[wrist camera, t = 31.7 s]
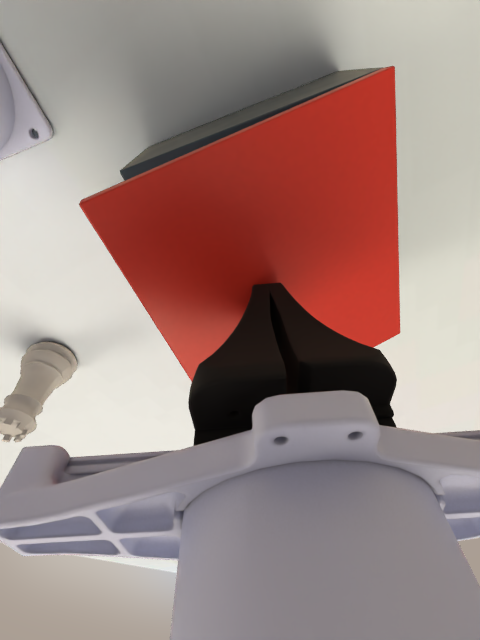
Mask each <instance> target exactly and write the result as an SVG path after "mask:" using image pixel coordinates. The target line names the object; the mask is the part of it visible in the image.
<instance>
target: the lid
mask: <svg viewBox="0 0 480 640" xmlns="http://www.w3.org/2000/svg"><path fill="white" fill-rule="evenodd" d="M79 205H80V207H81V209H82V210H83V212H84V213H85V215H86V217H87V218H88V220H89V221H90V223H91V224H92V226H93V228H94V229H95V231H96V232H97V234H98V235H99V237H100V238H101V240H102V242H103V243H104V245H105V246H106V248H107V249H108V251H109V253H110V254H111V256H112V257H113V259H114V260H115V262H116V264H117V265H118V267H119V268H120V270H121V271H122V273H123V275H124V276H125V278H126V279H127V281H128V282H129V284H130V285H131V287H132V289H133V290H134V292H135V293H136V295H137V296H138V298H139V300H140V301H141V303H142V304H143V306H144V307H145V309H146V311H147V312H148V314H149V315H150V317H151V318H152V320H153V321H154V323H155V325H156V326H157V328H158V329H159V331H160V332H161V334H162V336H163V337H164V339H165V340H166V342H167V343H168V345H169V347H170V348H171V350H172V351H173V353H174V354H175V356H176V358H177V359H178V361H179V362H180V364H181V365H182V367H183V368H184V370H185V372H186V373H187V375H188V376H189V378H190V379H191V381H193V378H194V375H195V372H196V370H197V367H198V365H199V364H200V363H201V362H203V361H204V360H205V359H207V358H208V357H209V356H211V355H212V354H213V353H214V352H215V351H216V350H217V349H218V348H219V347H220V346H221V345H222V344H223V343H224V342H225V341H226V340H227V339H228V337H229V336H230V335H231V334H232V332H233V331H234V329H235V328H236V326H237V325H238V323H239V322H240V320H241V318H242V316H243V314H244V312H245V310H246V308H247V305H248V302H249V300H250V297H251V293H252V286H253V285H256V284H268V283H282V284H283V285H284V287H285V288H286V289H287V291H288V292H289V293H290V294H291V295H292V296H293V298H294V299H295V300H296V301H297V302H298V303H299V304H300V305H301V306H302V307H303V308H304V309H305V310H306V311H307V312H308V313H310V314H311V315H312V316H313V317H314V318H316V319H317V320H318V321H320V322H321V323H323V324H324V325H326V326H327V327H329V328H330V329H332V330H334V331H336V332H337V333H339V334H341V335H343V336H345V337H347V338H349V339H352V340H354V341H356V342H358V343H361V344H364V345H367V346H369V347H372V348H373V347H375V346H377V345H379V344H381V343H382V342H384V341H386V340H388V339H390V338H392V337H394V336H396V335H398V334H399V333H400V301H399V252H398V203H397V154H396V105H395V67H394V66H390V67H386V68H382V69H379V70H377V71H375V72H372V73H370V74H368V75H366V76H363V77H361V78H359V79H356V80H354V81H352V82H350V83H347V84H345V85H343V86H340V87H338V88H336V89H334V90H331V91H329V92H327V93H324V94H322V95H320V96H318V97H315V98H313V99H311V100H308V101H306V102H304V103H302V104H299V105H297V106H295V107H292V108H290V109H288V110H286V111H283V112H281V113H279V114H276V115H274V116H272V117H270V118H267V119H265V120H263V121H260V122H258V123H256V124H254V125H251V126H249V127H247V128H244V129H242V130H240V131H238V132H235V133H233V134H231V135H228V136H226V137H224V138H222V139H219V140H217V141H215V142H212V143H210V144H208V145H206V146H203V147H201V148H199V149H196V150H194V151H192V152H190V153H187V154H185V155H183V156H180V157H178V158H176V159H174V160H171V161H169V162H167V163H164V164H162V165H160V166H158V167H155V168H153V169H151V170H148V171H146V172H144V173H142V174H139V175H137V176H135V177H132V178H130V179H128V180H126V181H123V182H121V183H119V184H116V185H114V186H112V187H110V188H107V189H105V190H103V191H100V192H98V193H96V194H94V195H91V196H89V197H87V198H84V199H82V200H81V201H80V204H79Z"/></svg>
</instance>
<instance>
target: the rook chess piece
mask: <svg viewBox="0 0 480 640" xmlns="http://www.w3.org/2000/svg"><path fill="white" fill-rule="evenodd" d="M76 369H77V362H76V359H75V356H74V354H73V353H72V352H71V351H70V350H69V349H68V348H66V347H64V346H63V345H61V344H57V343H54V342H41V343H37V344H34V345H31V346H30V347H29V348H28V349H27V351H26V354H25V355H24V356H23V357H22V360H21V372H20V374H21V377H20V379H19V381H18V383H17V385H16V387H15V389H14V391H13V392H12V394H11V395H8V396H7V397H6V398H5V399H4V404H5V405H4V406H3V407H1V408H0V434H3V435H5V436H4V438H3V439H2V441H4V442H9V441H10V440H11V438H12V437H15V439H14V441H15V442H20V441H21V440H22V439H24V438H25V437H26V435H27V434H29V433H31V432H33V431H34V430H35V429H36V426H37V424H36V420H35V416H36V415H39V414H40V413H41V412H42V409H43V407H42V406H43V404H44V402H45V400H46V399H47V398H48V397H49V395H50V394H51V393H52V392H53V390H54V389H55V388H58V387H59V386H61V385H62V384H64V383H66V382H67V381H68V380H69V379H70V378H71V377H72V374H73V373H74V372H75V371H76Z"/></svg>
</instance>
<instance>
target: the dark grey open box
mask: <svg viewBox="0 0 480 640" xmlns="http://www.w3.org/2000/svg"><path fill="white" fill-rule="evenodd" d="M379 69H382V68H370V69H358V70H345V71H337V72H335V73H332V74H330V75H327V76H325V77H322V78H320V79H317V80H315V81H312V82H310V83H307V84H305V85H302V86H300V87H297V88H295V89H292V90H290V91H287V92H285V93H282V94H280V95H277V96H275V97H272V98H270V99H267V100H265V101H262V102H260V103H257V104H255V105H252V106H250V107H247V108H245V109H242V110H240V111H237V112H235V113H232V114H230V115H227V116H225V117H222V118H220V119H217V120H215V121H212V122H210V123H207V124H205V125H202V126H200V127H197V128H195V129H192V130H190V131H187V132H185V133H182V134H180V135H177V136H175V137H172V138H170V139H167V140H165V141H162V142H160V143H157V144H155V145H152V146H150V147H148V148H147V149H145V150H144V151H143V152H142V153H141V154H139V155H138V156H137V157H136V158H135V159H133V160H132V161H131V162H130V163H129V164H127V165H126V166H125V167H124V168H123V169H121V170H120V173H121V175H122V177H123V178H124V180H125V181H126V180H128V179H130V178H132V177H135V176H137V175H139V174H142V173H144V172H146V171H148V170H151V169H153V168H155V167H158V166H160V165H162V164H164V163H167V162H169V161H171V160H174V159H176V158H178V157H180V156H183V155H185V154H187V153H190V152H192V151H194V150H196V149H199V148H201V147H203V146H206V145H208V144H210V143H212V142H215V141H217V140H219V139H222V138H224V137H226V136H228V135H231V134H233V133H235V132H238V131H240V130H242V129H244V128H247V127H249V126H251V125H254V124H256V123H258V122H260V121H263V120H265V119H267V118H270V117H272V116H274V115H276V114H279V113H281V112H283V111H286V110H288V109H290V108H292V107H295V106H297V105H299V104H302V103H304V102H306V101H308V100H311V99H313V98H315V97H318V96H320V95H322V94H324V93H327V92H329V91H331V90H334V89H336V88H338V87H340V86H343V85H345V84H347V83H350V82H352V81H354V80H356V79H359V78H361V77H363V76H366V75H368V74H370V73H372V72H375V71H377V70H379Z"/></svg>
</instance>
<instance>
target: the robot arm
mask: <svg viewBox="0 0 480 640" xmlns="http://www.w3.org/2000/svg"><path fill="white" fill-rule="evenodd" d="M32 129H35V130H36V131H37V132H38V134H39V138H36V137H35V136H34V135H33V133H32ZM52 136H53V130H52V128H51V126H50V124H49V122H48V121H47V119H46V117H45V116H44V114H43V112H42V111H41V109H40V107H39V106H38V104H37V102H36V101H35V99H34V97H33V96H32V94H31V92H30V91H29V89H28V87H27V86H26V84H25V82H24V81H23V79H22V77H21V76H20V74H19V72H18V71H17V69H16V67H15V66H14V64H13V62H12V61H11V59H10V58H9V56H8V54H7V53H6V51H5V49H4V48H3V46H2V44H1V43H0V161H1V160H3V159H5V158H8V157H10V156H12V155H15V154H17V153H19V152H22V151H24V150H26V149H29V148H31V147H33V146H36V145H38V144H40V143H43V142H45V141H47V140H49V139H51V138H52ZM396 381H397V379H396V375H395V372H394V371H393V369H392V367H391V365H390V364H389V362H388V361H387V359H386V358H385V357H384V355H383V354H382V353H381V351H380V350H378V349H375V348H372V347H369V346H367V345H364V344H361V343H358V342H356V341H354V340H352V339H349V338H347V337H345V336H343V335H341V334H339V333H337V332H336V331H334V330H332V329H330V328H329V327H327V326H326V325H324V324H323V323H321V322H320V321H318V320H317V319H316V318H314V317H313V316H312V315H311V314H310V313H308V312H307V311H306V310H305V309H304V308H303V307H302V306H301V305H300V304H299V303H298V302H297V301H296V300H295V299H294V298H293V296H292V295H291V294H290V293H289V292H288V291H287V289H286V288H285V287H284V285H283V284H282V283H268V284H256V285H253V286H252V293H251V297H250V300H249V302H248V305H247V308H246V310H245V312H244V314H243V316H242V318H241V320H240V322H239V323H238V325H237V326H236V328H235V329H234V331H233V332H232V334H231V335H230V336H229V337H228V339H227V340H226V341H225V342H224V343H223V344H222V345H221V346H220V347H219V348H218V349H217V350H216V351H215V352H214V353H213V354H212V355H211V356H209V357H208V358H207V359H205V360H204V361H203V362H201V363H200V364H199V365H198V367H197V370H196V372H195V375H194V378H193V381H192V384H191V388H190V395H189V410H190V414H191V417H192V421H193V424H194V428H195V437H194V446H192V447H189V448H185V449H182V450H176V451H160V452H145V453H130V454H115V455H100V456H85V457H70V456H69V454H68V453H67V451H66V450H65V449H64V448H62V447H60V446H56V445H48V446H33V447H25V448H23V449H22V450H21V452H20V454H19V456H18V458H17V459H16V461H15V463H14V465H13V466H12V468H11V470H10V472H9V474H8V475H7V477H6V479H5V481H4V483H3V484H2V486H1V488H0V541H1V542H2V543H4V544H5V545H7V546H8V547H10V548H11V549H13V550H14V551H16V552H17V553H19V554H20V555H22V556H37V555H88V556H110V557H127V558H145V559H162V560H178V567H177V578H176V586H175V596H174V605H173V615H172V624H171V634H170V640H480V586H479V584H478V582H477V580H476V578H475V576H474V574H473V572H472V569H471V567H470V566H469V563H468V561H467V559H466V557H465V555H464V553H463V551H462V550H461V547H460V545H459V543H458V541H462V540H468V539H474V538H480V430H478V431H463V432H448V433H427V432H421V431H414V430H408V429H402V428H397V427H396V425H395V423H394V421H393V419H392V417H393V415H394V413H393V410H392V408H391V406H390V401H391V398H392V396H393V393H394V390H395V387H396Z"/></svg>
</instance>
